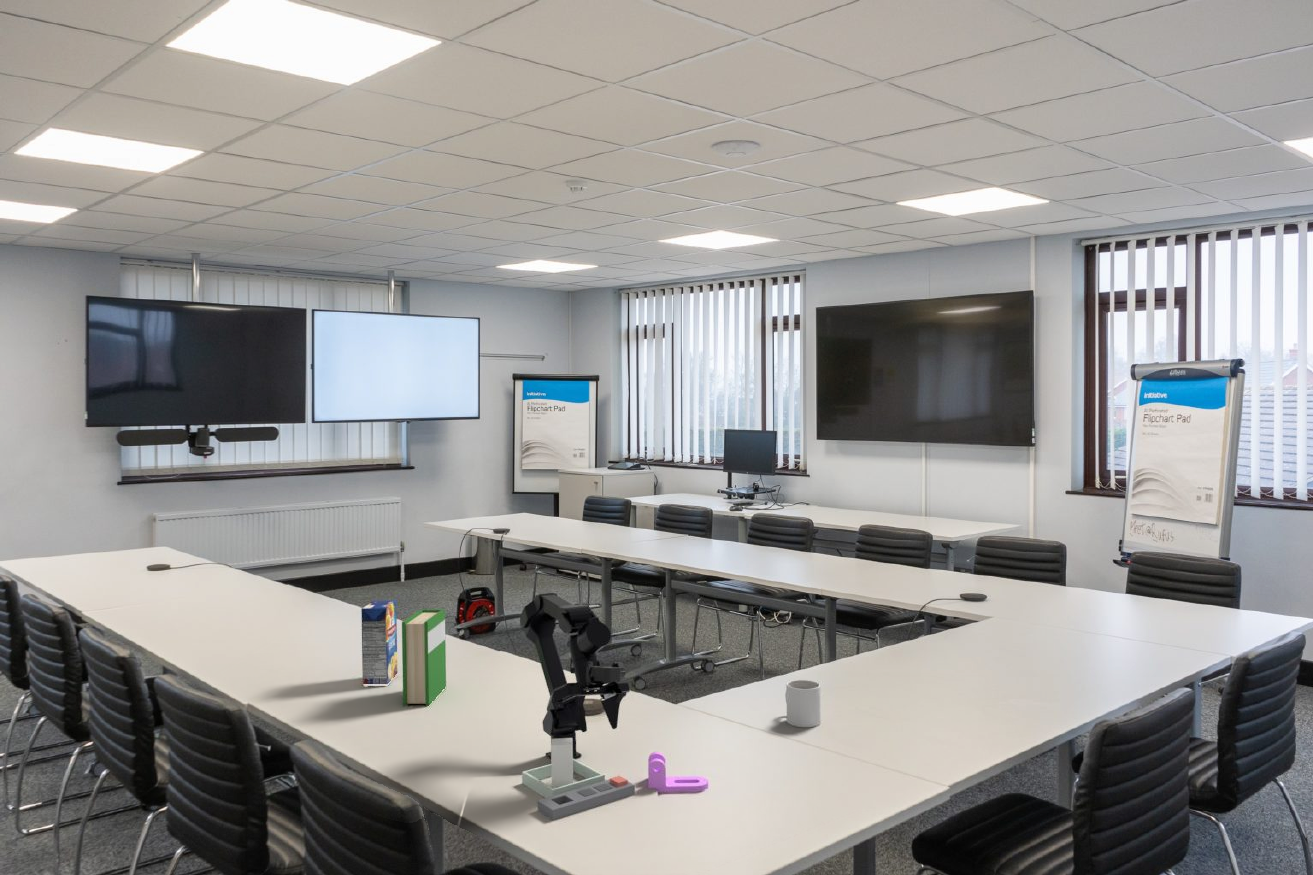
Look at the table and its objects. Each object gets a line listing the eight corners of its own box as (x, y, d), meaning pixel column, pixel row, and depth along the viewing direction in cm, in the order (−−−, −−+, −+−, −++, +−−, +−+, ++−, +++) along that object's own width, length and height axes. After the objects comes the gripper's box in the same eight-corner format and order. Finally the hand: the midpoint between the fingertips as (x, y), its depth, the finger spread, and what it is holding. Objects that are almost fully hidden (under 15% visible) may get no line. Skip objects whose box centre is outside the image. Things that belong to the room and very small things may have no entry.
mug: (820, 728, 237) (819, 689, 237) (783, 726, 239) (782, 688, 239) (821, 715, 248) (820, 678, 248) (785, 713, 250) (785, 676, 250)
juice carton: (374, 676, 292) (372, 601, 292) (397, 675, 293) (396, 600, 292) (362, 686, 280) (361, 608, 280) (387, 686, 281) (385, 608, 280)
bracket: (648, 793, 197) (648, 760, 197) (648, 783, 203) (648, 751, 203) (709, 792, 197) (708, 760, 197) (707, 782, 203) (707, 750, 203)
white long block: (552, 789, 198) (551, 738, 198) (573, 788, 199) (572, 737, 199) (552, 796, 194) (551, 745, 194) (573, 795, 195) (572, 744, 195)
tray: (522, 787, 201) (522, 771, 201) (572, 773, 209) (572, 757, 209) (553, 806, 190) (552, 790, 190) (605, 790, 198) (604, 774, 198)
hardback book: (428, 706, 260) (427, 622, 260) (403, 706, 260) (401, 622, 260) (446, 688, 278) (444, 609, 277) (422, 688, 278) (420, 609, 278)
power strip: (553, 825, 182) (552, 805, 182) (537, 815, 187) (537, 796, 187) (634, 798, 194) (634, 781, 194) (618, 790, 199) (618, 772, 199)
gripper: (578, 649, 196) (594, 722, 189) (638, 648, 209) (654, 716, 203) (545, 665, 202) (559, 737, 196) (605, 663, 216) (620, 730, 209)
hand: (600, 730), depth 201 cm, fingers open, 9 cm apart
